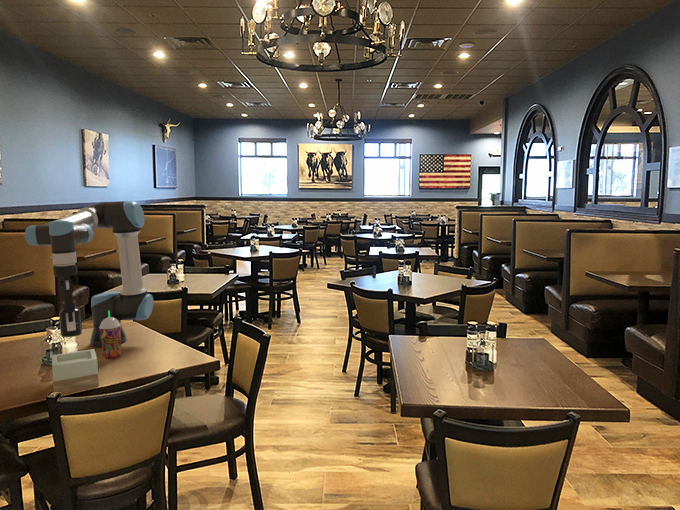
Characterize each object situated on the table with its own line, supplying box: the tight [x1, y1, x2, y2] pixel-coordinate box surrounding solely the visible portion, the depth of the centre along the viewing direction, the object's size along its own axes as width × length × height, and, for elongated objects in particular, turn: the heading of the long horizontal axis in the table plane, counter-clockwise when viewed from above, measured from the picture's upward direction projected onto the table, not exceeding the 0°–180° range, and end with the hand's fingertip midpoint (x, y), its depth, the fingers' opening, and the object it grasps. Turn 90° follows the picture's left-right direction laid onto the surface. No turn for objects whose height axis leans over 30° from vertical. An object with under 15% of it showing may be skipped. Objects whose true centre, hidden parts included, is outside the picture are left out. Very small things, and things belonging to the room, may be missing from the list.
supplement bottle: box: [58, 300, 83, 338], centre depth 186 cm, size 7×7×12 cm
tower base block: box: [52, 370, 100, 394], centre depth 188 cm, size 14×14×5 cm
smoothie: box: [99, 311, 122, 360], centre depth 217 cm, size 8×8×20 cm
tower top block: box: [51, 348, 99, 382], centre depth 188 cm, size 14×14×6 cm
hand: (71, 327), depth 186 cm, fingers closed on supplement bottle, 7 cm apart
